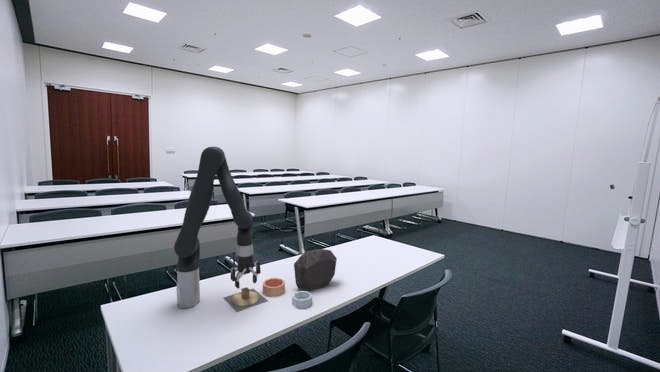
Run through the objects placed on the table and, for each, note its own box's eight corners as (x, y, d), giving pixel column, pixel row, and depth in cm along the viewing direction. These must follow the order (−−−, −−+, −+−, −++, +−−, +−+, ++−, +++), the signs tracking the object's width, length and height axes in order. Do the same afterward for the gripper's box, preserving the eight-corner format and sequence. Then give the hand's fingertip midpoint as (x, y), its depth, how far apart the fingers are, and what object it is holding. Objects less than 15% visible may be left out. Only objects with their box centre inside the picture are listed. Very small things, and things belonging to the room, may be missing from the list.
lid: (238, 309, 141) (238, 298, 140) (227, 298, 150) (226, 287, 150) (264, 300, 149) (264, 290, 148) (251, 290, 159) (251, 280, 158)
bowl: (269, 299, 151) (269, 289, 150) (259, 290, 159) (259, 281, 159) (288, 292, 158) (288, 283, 157) (277, 284, 166) (277, 276, 166)
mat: (236, 312, 139) (236, 312, 139) (222, 298, 151) (222, 297, 151) (268, 301, 149) (268, 301, 149) (253, 289, 161) (253, 288, 161)
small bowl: (299, 310, 142) (299, 302, 141) (289, 302, 149) (289, 294, 148) (315, 304, 148) (315, 296, 147) (304, 296, 155) (304, 289, 154)
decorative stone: (299, 295, 156) (300, 257, 153) (291, 288, 163) (292, 251, 160) (339, 284, 169) (340, 249, 166) (330, 278, 176) (331, 244, 173)
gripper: (234, 259, 139) (235, 292, 141) (262, 251, 148) (263, 283, 151) (227, 254, 145) (228, 286, 147) (255, 247, 154) (256, 278, 156)
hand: (246, 285), depth 149 cm, fingers open, 8 cm apart
